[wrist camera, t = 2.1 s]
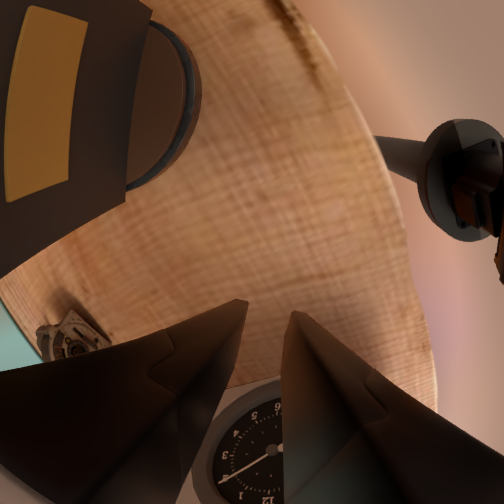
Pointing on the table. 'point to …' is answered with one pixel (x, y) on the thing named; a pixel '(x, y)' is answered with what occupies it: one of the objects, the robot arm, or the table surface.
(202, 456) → the alarm clock
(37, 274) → the table surface
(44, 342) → the mechanical counter
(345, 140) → the table surface
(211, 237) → the table surface
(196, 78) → the turntable base
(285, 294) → the table surface
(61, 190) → the dark upright block
